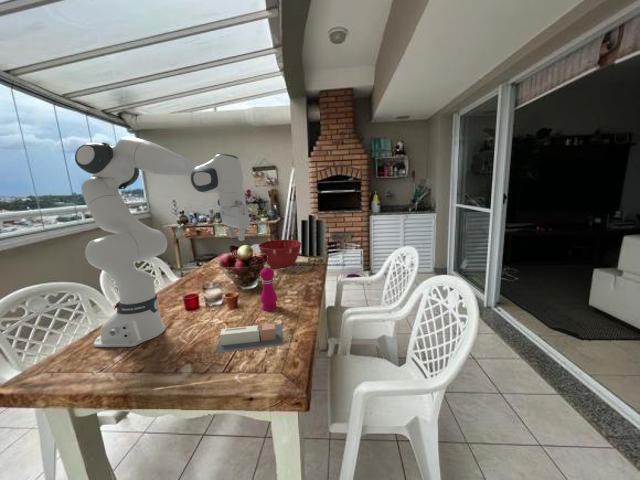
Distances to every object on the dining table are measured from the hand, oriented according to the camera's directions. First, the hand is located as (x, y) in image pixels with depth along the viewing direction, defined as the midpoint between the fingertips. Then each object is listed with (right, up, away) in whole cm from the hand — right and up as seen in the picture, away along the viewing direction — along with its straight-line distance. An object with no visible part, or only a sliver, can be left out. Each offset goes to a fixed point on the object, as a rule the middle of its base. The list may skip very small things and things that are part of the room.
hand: (237, 238), depth 104 cm
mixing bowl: (+4, -18, +89) cm, 91 cm away
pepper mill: (+8, -31, +23) cm, 39 cm away
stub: (+12, -35, -2) cm, 37 cm away
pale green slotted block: (+3, -36, -4) cm, 36 cm away
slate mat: (+6, -36, -2) cm, 36 cm away
